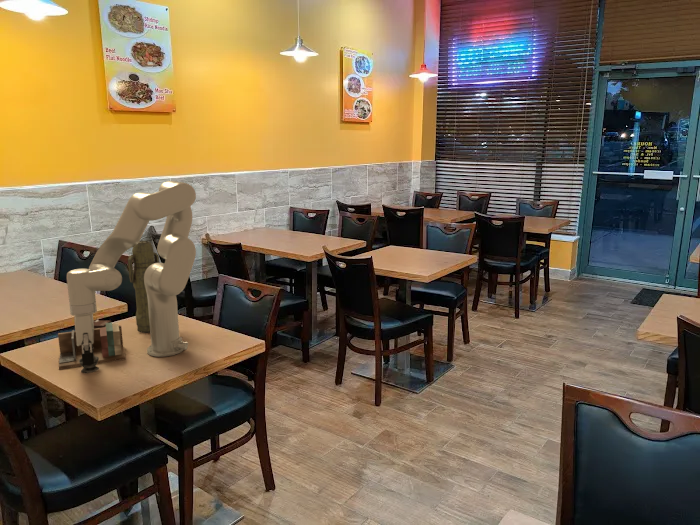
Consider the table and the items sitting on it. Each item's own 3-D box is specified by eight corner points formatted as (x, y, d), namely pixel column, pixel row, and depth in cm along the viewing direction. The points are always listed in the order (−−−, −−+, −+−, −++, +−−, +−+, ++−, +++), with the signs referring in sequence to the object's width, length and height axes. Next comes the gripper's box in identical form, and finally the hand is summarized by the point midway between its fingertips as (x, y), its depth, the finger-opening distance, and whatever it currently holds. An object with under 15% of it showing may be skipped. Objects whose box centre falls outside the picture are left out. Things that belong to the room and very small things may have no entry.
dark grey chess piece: (104, 367, 177) (100, 333, 174) (90, 374, 172) (86, 339, 169) (89, 365, 179) (86, 330, 176) (75, 372, 173) (71, 336, 171)
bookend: (76, 351, 187) (74, 330, 186) (76, 361, 179) (73, 338, 178) (60, 354, 185) (57, 332, 183) (59, 363, 177) (56, 340, 176)
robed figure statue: (168, 327, 216) (162, 240, 208) (143, 335, 206) (135, 245, 198) (154, 322, 220) (148, 238, 213) (129, 331, 211) (121, 242, 203)
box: (105, 344, 197) (103, 325, 195) (89, 344, 197) (87, 325, 195) (113, 338, 203) (111, 320, 201) (97, 338, 203) (95, 320, 201)
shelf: (123, 346, 195) (120, 319, 193) (125, 359, 184) (122, 331, 182) (60, 355, 187) (57, 327, 185) (59, 369, 175) (55, 340, 173)
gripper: (70, 302, 177) (75, 351, 180) (69, 317, 161) (75, 371, 165) (95, 299, 180) (100, 348, 184) (96, 314, 165) (101, 367, 168)
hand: (88, 359), depth 174 cm, fingers open, 8 cm apart
